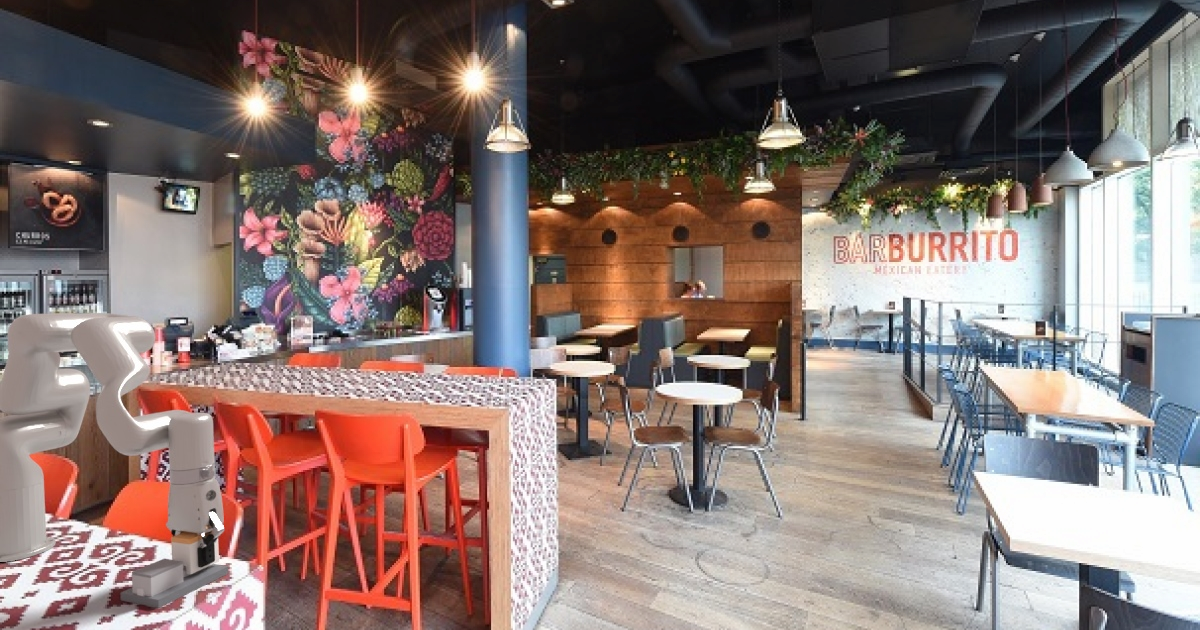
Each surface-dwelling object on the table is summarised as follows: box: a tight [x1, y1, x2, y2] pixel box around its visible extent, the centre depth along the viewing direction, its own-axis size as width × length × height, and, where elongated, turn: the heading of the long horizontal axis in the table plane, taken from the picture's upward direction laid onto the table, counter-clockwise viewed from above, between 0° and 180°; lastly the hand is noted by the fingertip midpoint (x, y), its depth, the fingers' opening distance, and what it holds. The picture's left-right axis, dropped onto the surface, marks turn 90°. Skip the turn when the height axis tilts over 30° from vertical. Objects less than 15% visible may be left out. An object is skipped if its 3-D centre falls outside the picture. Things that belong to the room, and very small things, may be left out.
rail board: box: [120, 558, 229, 609], centre depth 115 cm, size 10×14×6 cm
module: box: [170, 526, 220, 574], centre depth 118 cm, size 5×6×7 cm
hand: (196, 561), depth 118 cm, fingers closed on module, 5 cm apart
